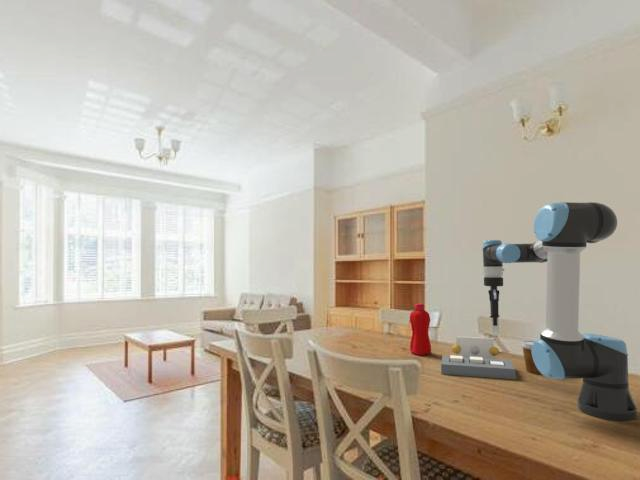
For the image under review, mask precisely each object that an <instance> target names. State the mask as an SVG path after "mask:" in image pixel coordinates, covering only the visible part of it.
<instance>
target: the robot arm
mask: <svg viewBox="0 0 640 480" xmlns="http://www.w3.org/2000/svg"><path fill="white" fill-rule="evenodd" d="M617 228H618V217H617V215H616V213H615V212H614V210H613V209H612V208H611V207H609V206H607V204H606V205H605V204H603V203H600V202H565V201H562V202H561V201H560V202H551V203H548V204H545V205H542V207H541V208H540V209H539V210H538V212H537V214H536V216H535V219H534V222H533V232H534V234H535V235H534V236H535V238H536V239H537V241H535V242H531V243H509V242H508V243H502V240H501V239H488V240H487V239H485V240H484V241H483V242H482V259H483V260H482V262H483V266H482V268H483V272H482V273H483V276H484V277H483V286H485V287H489V288H490V289H489V290H487V291H488V297H489V302H490V303H489V304H490V306H489V307H490V314H489V315H490V316H489V318H490V323H491V325H490V326H491V329H490V330H491V334H495V335H496V334H497V335H498V334H500V329H499V325H500V324H499V317H500V314H499V301H500V299H499V298H500V290H498V287H504V277H503V276H504V271H505V268H503V264H504V263H505V264H513V263H514V264H515V263H519V264H520V263H538V264H539V263H547V264H546V265H547V266H546V307H545V308H546V309H545V310H546V311H545V328H543V329H542V330H541V331H539V332H540V333H539V336H540V337H539V339H536V340H533V341H534V342H533V344H532V348H531V352H532V357H533V361H534V363H535V365H536V367H537V369H538V370H539V371H540V373H541V374H540V375H542V376H543V377H545V378H547V379H551V380H552V379H553V380H571V379H582V385H581V388H580V391H579V393H578V396H577V404H576V405H577V408H578V410H579V411H581V412H583V413H585V414H587V415H590V416H593V417H595V418H600V419H606V420H613V421H633V420H636V419H637V418H638V408H637V405H636V403H635V401H634V398H633V396H632V393H631V391H630V388H629V366H628V365H629V363H628V359H629V358H628V356H629V354H628V349H627V343H626V342H625V341H624V340H622V339H619V338H616V337H612V336H608V335H607V336H606V335H602V334H594V333H585V332H584V333H580V331H579V319H580V318H579V312H580V311H579V310H580V277H581V276H580V275H581V273H580V271H581V269H580V268H581V267H580V266H581V254H582V252H583V251H585V249H586V248H587V244H596V243H598V242H601V241H604V240H606V239H608V238H609V237H611V236H612V235H613V234H614V233H615V231H616V229H617Z"/></svg>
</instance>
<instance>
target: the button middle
mask: <svg viewBox="0 0 640 480" xmlns="http://www.w3.org/2000/svg"><path fill="white" fill-rule="evenodd" d="M470 363H476V364H483V358H482V357H471V356H470Z"/></svg>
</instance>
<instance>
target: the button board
mask: <svg viewBox="0 0 640 480" xmlns="http://www.w3.org/2000/svg"><path fill="white" fill-rule="evenodd" d="M441 357H442V358H441V363H440V364H441V365H440V366H441V369H440V370H441V375H450V376H464V377H465V376H466V377H477V378H478V377H479V378H491V379H503V380H504V379H505V380H514V381H515V380H516V379H517V377H516V373H517V372H516V367H515V366H514V364H513V362H512V360H511V359H507V358H495V357H494V358H483V364H476V363H470V357H463V363H461V362H450V355H447V354H446V355H445V354H443V355H442V356H441ZM490 361H497V362H503V363H504V365H491V364H490Z"/></svg>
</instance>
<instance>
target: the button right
mask: <svg viewBox="0 0 640 480" xmlns="http://www.w3.org/2000/svg"><path fill="white" fill-rule="evenodd" d="M490 364H491V365H504V363H503V362H497V361H490Z"/></svg>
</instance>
